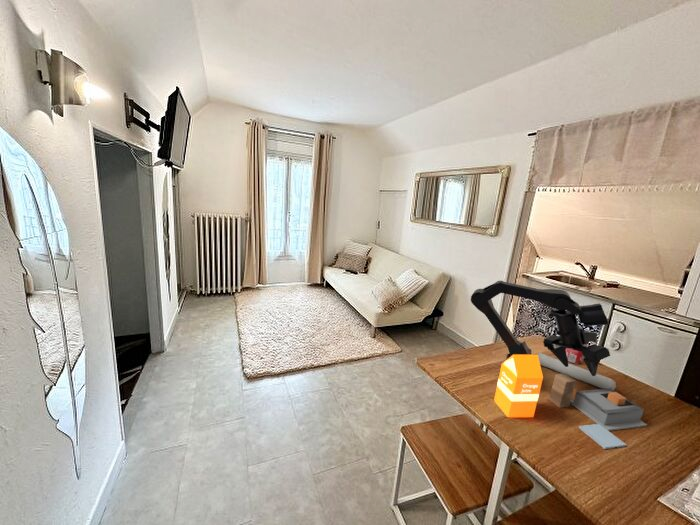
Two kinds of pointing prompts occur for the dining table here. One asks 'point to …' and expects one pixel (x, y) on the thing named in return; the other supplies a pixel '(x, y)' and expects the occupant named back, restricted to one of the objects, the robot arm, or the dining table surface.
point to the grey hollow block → (608, 410)
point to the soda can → (574, 355)
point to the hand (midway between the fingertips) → (579, 370)
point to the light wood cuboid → (562, 390)
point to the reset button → (616, 398)
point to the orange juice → (519, 385)
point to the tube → (576, 372)
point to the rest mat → (602, 436)
